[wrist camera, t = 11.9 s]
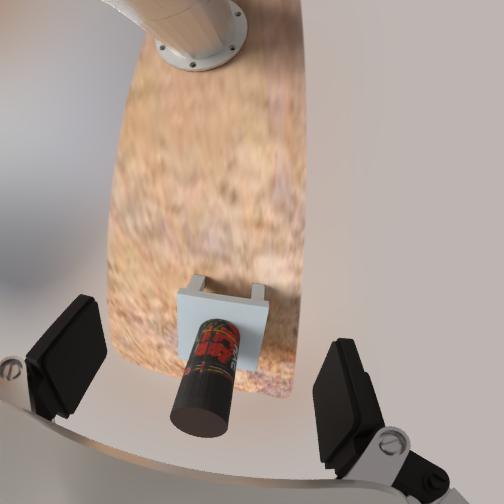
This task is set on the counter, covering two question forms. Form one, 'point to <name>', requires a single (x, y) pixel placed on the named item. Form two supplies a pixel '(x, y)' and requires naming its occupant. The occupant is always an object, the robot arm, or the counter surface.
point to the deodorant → (208, 381)
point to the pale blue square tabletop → (222, 307)
